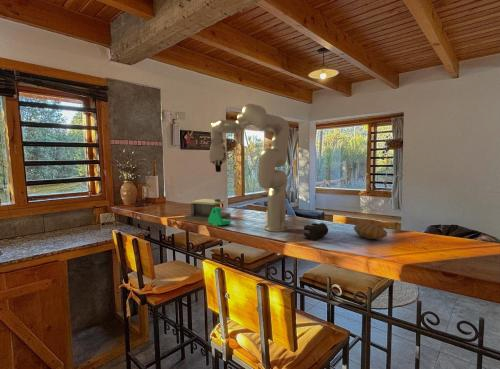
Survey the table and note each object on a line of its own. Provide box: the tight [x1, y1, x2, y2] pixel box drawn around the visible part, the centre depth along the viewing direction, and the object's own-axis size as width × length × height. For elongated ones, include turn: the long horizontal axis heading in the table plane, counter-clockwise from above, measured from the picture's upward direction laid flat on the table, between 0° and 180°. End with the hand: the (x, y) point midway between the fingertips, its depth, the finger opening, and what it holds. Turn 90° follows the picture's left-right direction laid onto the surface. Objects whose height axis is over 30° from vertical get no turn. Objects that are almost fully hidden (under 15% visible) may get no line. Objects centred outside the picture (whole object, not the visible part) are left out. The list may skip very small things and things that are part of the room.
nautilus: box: [353, 220, 388, 241], centre depth 131 cm, size 8×22×15 cm
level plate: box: [190, 198, 226, 206], centre depth 182 cm, size 17×14×2 cm
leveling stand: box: [184, 202, 231, 222], centre depth 183 cm, size 22×20×10 cm
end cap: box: [303, 222, 329, 241], centre depth 130 cm, size 10×7×7 cm
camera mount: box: [207, 206, 232, 227], centre depth 162 cm, size 12×8×10 cm, turn 46°
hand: (218, 171), depth 175 cm, fingers closed
